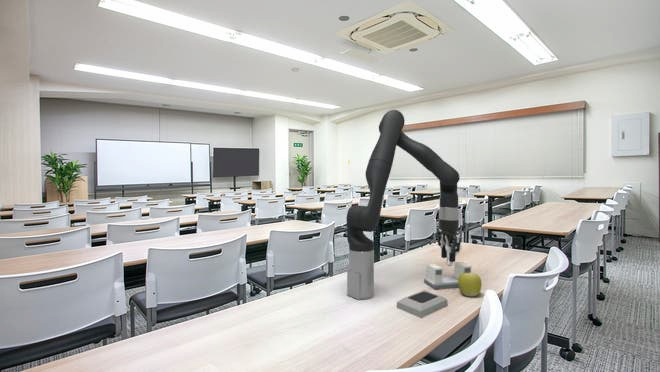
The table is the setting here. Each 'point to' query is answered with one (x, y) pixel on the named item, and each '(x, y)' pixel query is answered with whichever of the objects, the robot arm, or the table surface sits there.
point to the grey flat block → (422, 303)
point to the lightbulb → (448, 254)
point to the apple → (469, 284)
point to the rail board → (444, 283)
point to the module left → (434, 273)
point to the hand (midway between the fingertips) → (448, 259)
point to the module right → (461, 268)
